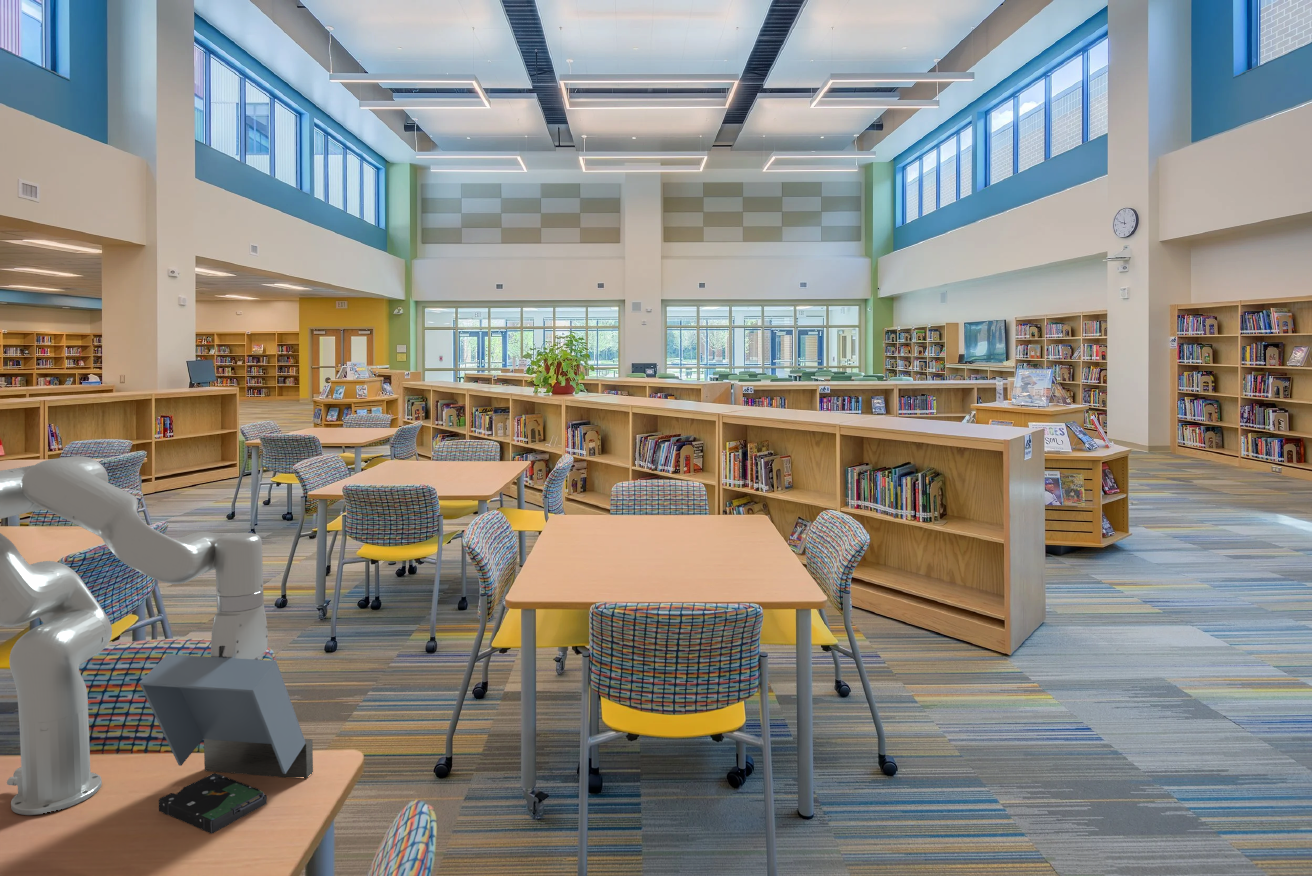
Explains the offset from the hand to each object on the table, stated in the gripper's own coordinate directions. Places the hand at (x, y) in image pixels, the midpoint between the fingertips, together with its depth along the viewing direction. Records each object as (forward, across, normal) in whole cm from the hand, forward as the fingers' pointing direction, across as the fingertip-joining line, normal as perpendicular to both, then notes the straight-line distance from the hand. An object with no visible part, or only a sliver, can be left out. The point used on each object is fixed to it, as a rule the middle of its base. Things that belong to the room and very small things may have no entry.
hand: (243, 698), depth 135 cm
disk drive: (+17, +8, 0) cm, 19 cm away
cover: (+2, +8, 0) cm, 8 cm away
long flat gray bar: (+16, -4, 0) cm, 17 cm away
